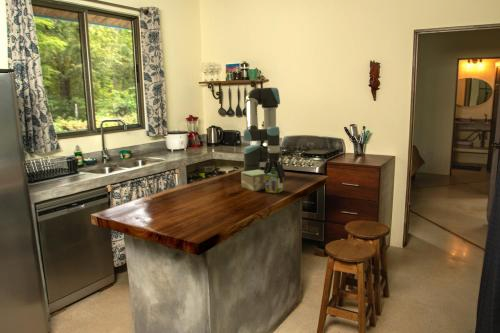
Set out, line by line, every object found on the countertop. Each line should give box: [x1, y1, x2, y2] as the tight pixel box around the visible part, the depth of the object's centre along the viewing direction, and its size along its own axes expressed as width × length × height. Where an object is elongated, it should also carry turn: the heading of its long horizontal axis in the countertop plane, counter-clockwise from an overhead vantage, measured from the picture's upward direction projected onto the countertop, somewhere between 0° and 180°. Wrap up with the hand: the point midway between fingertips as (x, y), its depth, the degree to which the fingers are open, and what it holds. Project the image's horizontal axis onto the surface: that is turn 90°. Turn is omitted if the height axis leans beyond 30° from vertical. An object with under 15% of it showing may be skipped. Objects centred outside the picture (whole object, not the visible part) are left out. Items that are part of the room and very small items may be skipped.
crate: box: [240, 173, 265, 192], centre depth 257 cm, size 14×14×9 cm
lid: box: [240, 169, 265, 176], centre depth 256 cm, size 14×14×1 cm
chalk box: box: [264, 167, 285, 194], centre depth 245 cm, size 9×9×15 cm
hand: (274, 186), depth 246 cm, fingers closed on chalk box, 12 cm apart
